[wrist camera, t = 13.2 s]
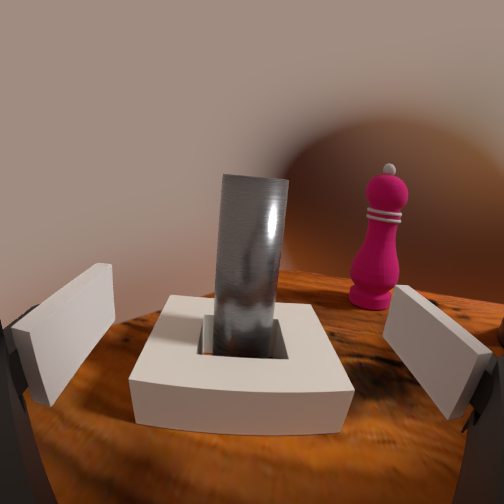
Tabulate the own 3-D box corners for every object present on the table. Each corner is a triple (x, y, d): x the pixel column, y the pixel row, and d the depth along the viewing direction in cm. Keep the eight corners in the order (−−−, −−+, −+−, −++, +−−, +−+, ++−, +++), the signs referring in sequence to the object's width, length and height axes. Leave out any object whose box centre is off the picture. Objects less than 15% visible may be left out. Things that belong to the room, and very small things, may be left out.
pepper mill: (335, 298, 45) (354, 158, 40) (364, 290, 49) (382, 165, 44) (373, 316, 39) (399, 161, 34) (400, 305, 43) (423, 170, 38)
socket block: (304, 338, 32) (310, 304, 31) (339, 432, 19) (354, 390, 18) (171, 330, 31) (170, 294, 30) (136, 423, 18) (128, 379, 17)
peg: (262, 362, 27) (283, 179, 23) (267, 393, 23) (294, 180, 19) (212, 359, 27) (224, 174, 23) (209, 390, 23) (221, 174, 19)
